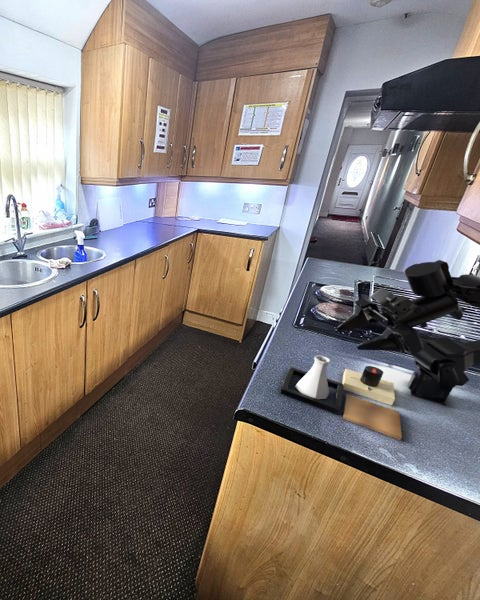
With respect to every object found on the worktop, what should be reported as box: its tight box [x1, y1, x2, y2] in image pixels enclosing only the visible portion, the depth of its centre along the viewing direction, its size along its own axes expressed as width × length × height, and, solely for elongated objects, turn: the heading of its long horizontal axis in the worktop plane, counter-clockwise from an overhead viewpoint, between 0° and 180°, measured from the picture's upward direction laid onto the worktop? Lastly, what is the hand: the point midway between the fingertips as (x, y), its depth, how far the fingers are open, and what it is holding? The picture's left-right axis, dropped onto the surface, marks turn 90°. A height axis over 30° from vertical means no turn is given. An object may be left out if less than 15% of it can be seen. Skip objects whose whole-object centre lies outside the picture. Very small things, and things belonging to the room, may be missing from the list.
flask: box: [294, 354, 331, 400], centre depth 83 cm, size 7×7×10 cm
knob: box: [360, 365, 384, 387], centre depth 84 cm, size 4×4×4 cm
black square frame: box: [280, 366, 344, 415], centre depth 85 cm, size 12×12×2 cm
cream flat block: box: [341, 368, 396, 406], centre depth 85 cm, size 10×8×2 cm
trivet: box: [342, 393, 403, 441], centre depth 76 cm, size 10×10×1 cm
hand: (347, 338), depth 82 cm, fingers open, 9 cm apart
